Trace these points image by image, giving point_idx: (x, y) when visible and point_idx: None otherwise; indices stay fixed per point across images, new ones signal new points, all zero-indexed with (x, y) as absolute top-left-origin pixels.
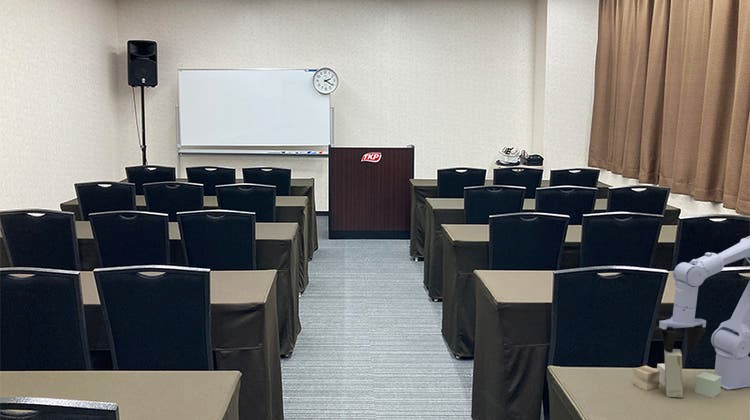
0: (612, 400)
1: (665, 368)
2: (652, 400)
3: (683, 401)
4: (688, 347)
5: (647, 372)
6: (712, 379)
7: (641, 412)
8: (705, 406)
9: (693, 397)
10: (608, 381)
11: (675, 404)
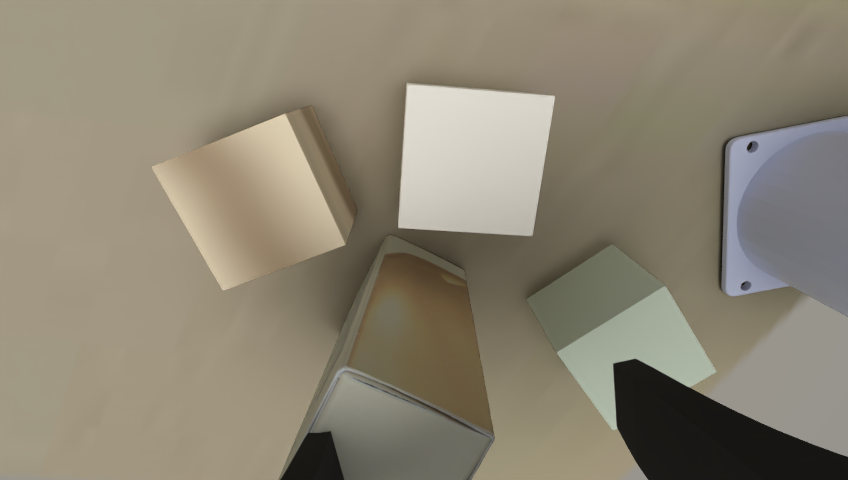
0: (12, 348)
1: (316, 391)
2: (239, 366)
3: None
4: (630, 398)
5: (235, 258)
6: None
7: (131, 474)
8: None
9: None
10: (47, 74)
11: None
